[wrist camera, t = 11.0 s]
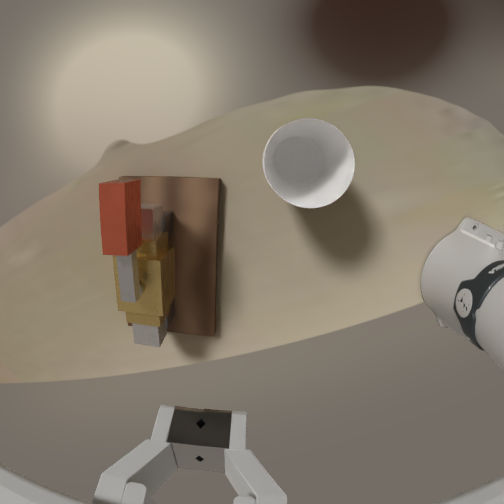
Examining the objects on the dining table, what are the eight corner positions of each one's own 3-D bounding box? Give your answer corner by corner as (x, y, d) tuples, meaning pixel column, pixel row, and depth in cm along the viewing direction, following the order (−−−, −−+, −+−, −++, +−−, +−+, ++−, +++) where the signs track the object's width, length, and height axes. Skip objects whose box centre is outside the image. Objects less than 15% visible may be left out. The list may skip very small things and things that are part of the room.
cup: (270, 200, 42) (272, 217, 30) (257, 133, 39) (253, 124, 28) (336, 189, 41) (362, 202, 30) (325, 122, 38) (347, 110, 27)
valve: (180, 200, 41) (159, 211, 33) (181, 321, 46) (166, 353, 38) (138, 198, 41) (110, 209, 33) (144, 316, 46) (123, 346, 38)
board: (220, 178, 41) (218, 179, 40) (215, 331, 48) (214, 336, 47) (123, 176, 42) (119, 176, 40) (131, 321, 48) (128, 325, 47)
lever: (148, 296, 35) (133, 315, 31) (126, 294, 36) (110, 311, 31) (142, 178, 32) (124, 183, 27) (119, 179, 32) (98, 183, 27)
